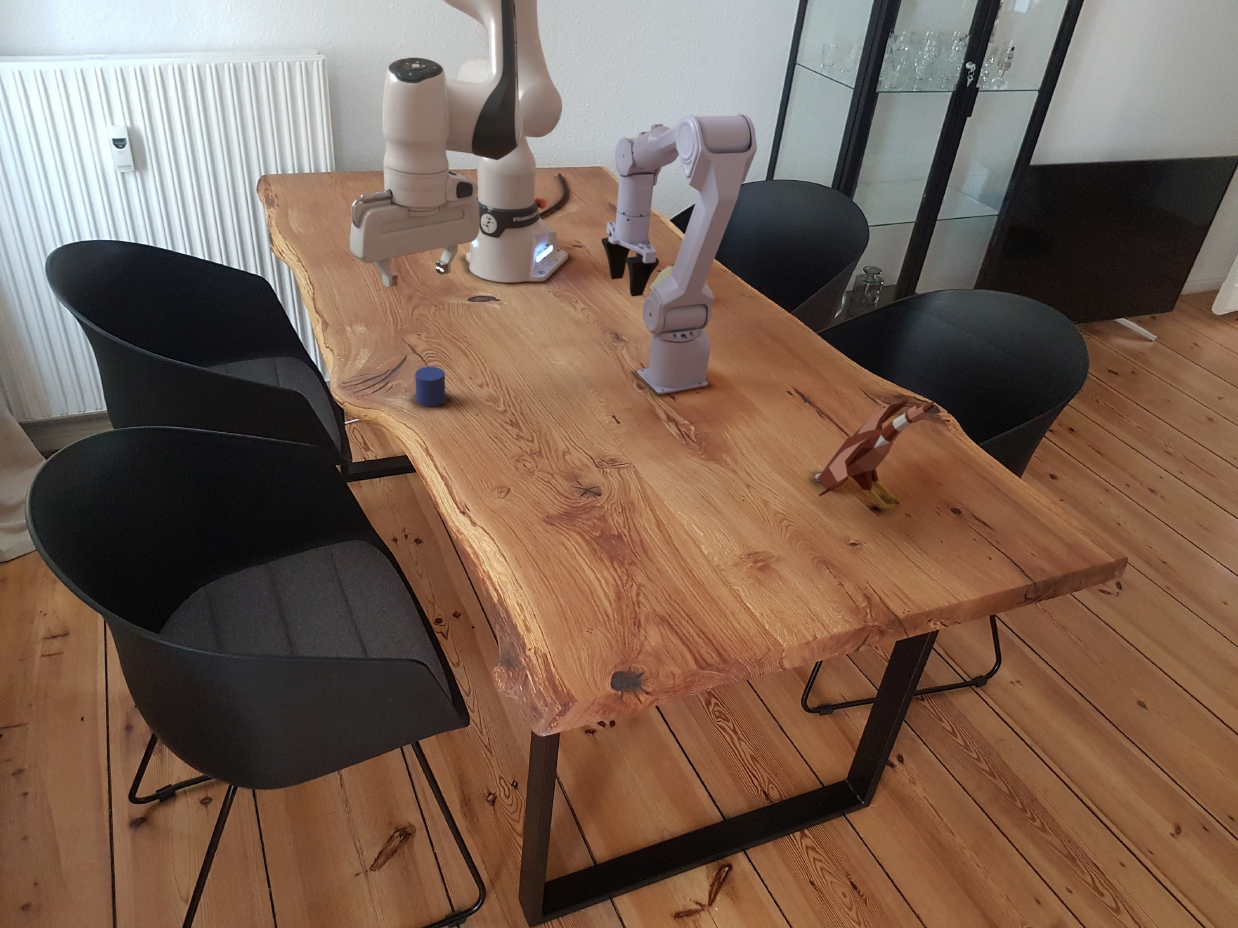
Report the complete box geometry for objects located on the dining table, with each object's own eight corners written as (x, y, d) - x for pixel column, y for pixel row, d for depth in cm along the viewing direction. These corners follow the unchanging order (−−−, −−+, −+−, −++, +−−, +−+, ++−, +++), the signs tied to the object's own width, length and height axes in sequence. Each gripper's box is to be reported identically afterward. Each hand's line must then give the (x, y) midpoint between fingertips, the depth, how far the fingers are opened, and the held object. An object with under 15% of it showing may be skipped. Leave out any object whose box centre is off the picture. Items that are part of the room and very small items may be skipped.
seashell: (689, 303, 174) (656, 277, 173) (671, 324, 182) (639, 298, 181) (709, 277, 178) (677, 250, 177) (691, 298, 185) (660, 272, 185)
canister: (426, 389, 144) (425, 364, 142) (450, 397, 143) (450, 371, 141) (410, 402, 141) (409, 375, 138) (435, 409, 140) (434, 383, 137)
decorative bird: (917, 559, 113) (900, 449, 108) (781, 549, 124) (760, 449, 119) (974, 459, 134) (962, 362, 129) (854, 458, 145) (838, 369, 139)
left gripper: (364, 203, 120) (368, 301, 128) (487, 183, 134) (484, 273, 141) (338, 189, 124) (343, 285, 131) (460, 171, 137) (458, 259, 145)
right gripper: (593, 199, 159) (588, 273, 166) (632, 228, 148) (625, 306, 156) (629, 196, 162) (622, 269, 169) (670, 224, 151) (661, 301, 159)
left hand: (417, 279), depth 136 cm, fingers open, 8 cm apart
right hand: (626, 286), depth 163 cm, fingers open, 7 cm apart
